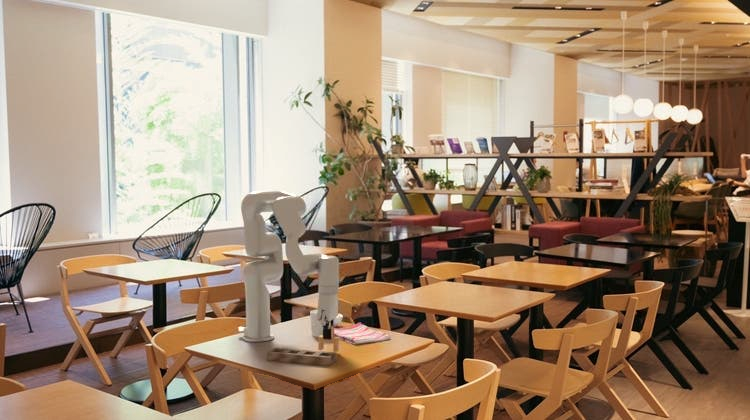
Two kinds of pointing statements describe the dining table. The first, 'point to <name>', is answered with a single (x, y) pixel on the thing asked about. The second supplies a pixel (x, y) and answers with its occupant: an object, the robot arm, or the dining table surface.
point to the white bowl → (338, 319)
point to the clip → (329, 341)
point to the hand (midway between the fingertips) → (328, 337)
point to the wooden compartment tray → (302, 356)
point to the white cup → (316, 324)
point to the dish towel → (360, 334)
